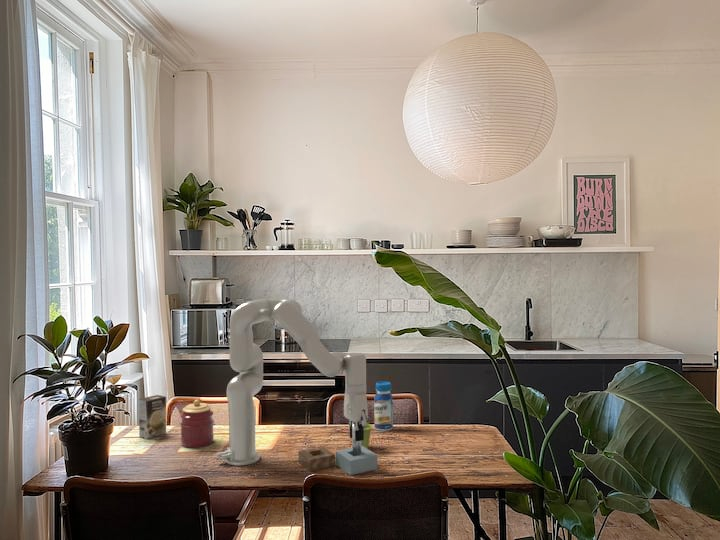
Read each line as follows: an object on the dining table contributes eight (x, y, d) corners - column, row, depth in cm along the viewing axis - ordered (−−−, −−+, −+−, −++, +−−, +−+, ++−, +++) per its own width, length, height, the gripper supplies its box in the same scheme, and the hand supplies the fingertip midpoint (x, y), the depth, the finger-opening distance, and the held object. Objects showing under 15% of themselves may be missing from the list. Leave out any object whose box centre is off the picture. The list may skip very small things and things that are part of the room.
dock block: (350, 475, 187) (350, 460, 187) (335, 464, 197) (335, 451, 197) (377, 468, 193) (377, 454, 193) (362, 459, 202) (361, 445, 202)
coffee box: (147, 439, 226) (147, 401, 226) (138, 436, 230) (138, 398, 230) (166, 433, 234) (166, 396, 234) (158, 430, 238) (157, 394, 237)
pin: (355, 455, 192) (354, 421, 192) (350, 452, 195) (350, 419, 195) (363, 453, 194) (362, 420, 194) (358, 450, 197) (358, 417, 196)
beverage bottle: (397, 427, 239) (396, 382, 238) (385, 432, 232) (384, 386, 232) (382, 424, 244) (382, 380, 244) (370, 428, 238) (369, 383, 238)
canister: (188, 450, 213) (188, 406, 212) (175, 442, 222) (174, 399, 222) (219, 443, 221) (218, 400, 221) (205, 435, 231) (204, 394, 230)
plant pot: (360, 442, 221) (360, 421, 220) (377, 447, 214) (377, 426, 214) (343, 448, 214) (343, 426, 214) (360, 454, 207) (360, 431, 207)
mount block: (310, 471, 191) (309, 459, 191) (298, 462, 200) (298, 451, 200) (335, 465, 196) (335, 454, 196) (323, 456, 205) (322, 446, 205)
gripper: (336, 385, 199) (336, 434, 200) (358, 394, 185) (359, 447, 185) (353, 382, 203) (354, 431, 203) (376, 391, 189) (377, 443, 189)
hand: (356, 438), depth 194 cm, fingers closed on pin, 3 cm apart
